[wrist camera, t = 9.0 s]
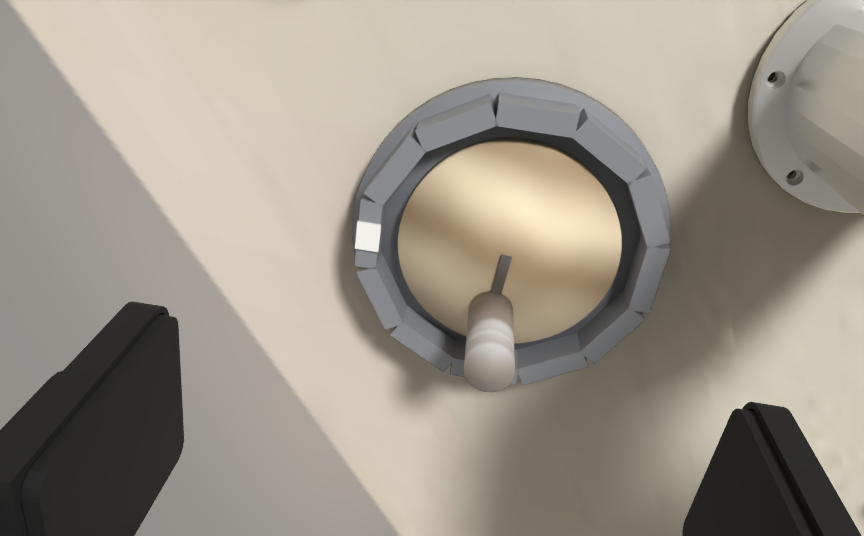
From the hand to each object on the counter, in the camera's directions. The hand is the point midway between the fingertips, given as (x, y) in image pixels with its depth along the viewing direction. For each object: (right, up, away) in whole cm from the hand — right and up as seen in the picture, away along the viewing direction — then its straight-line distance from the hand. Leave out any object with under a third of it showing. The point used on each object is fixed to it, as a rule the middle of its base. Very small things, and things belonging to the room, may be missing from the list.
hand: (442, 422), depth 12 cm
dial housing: (+4, +5, +29) cm, 30 cm away
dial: (+4, +4, +28) cm, 28 cm away
